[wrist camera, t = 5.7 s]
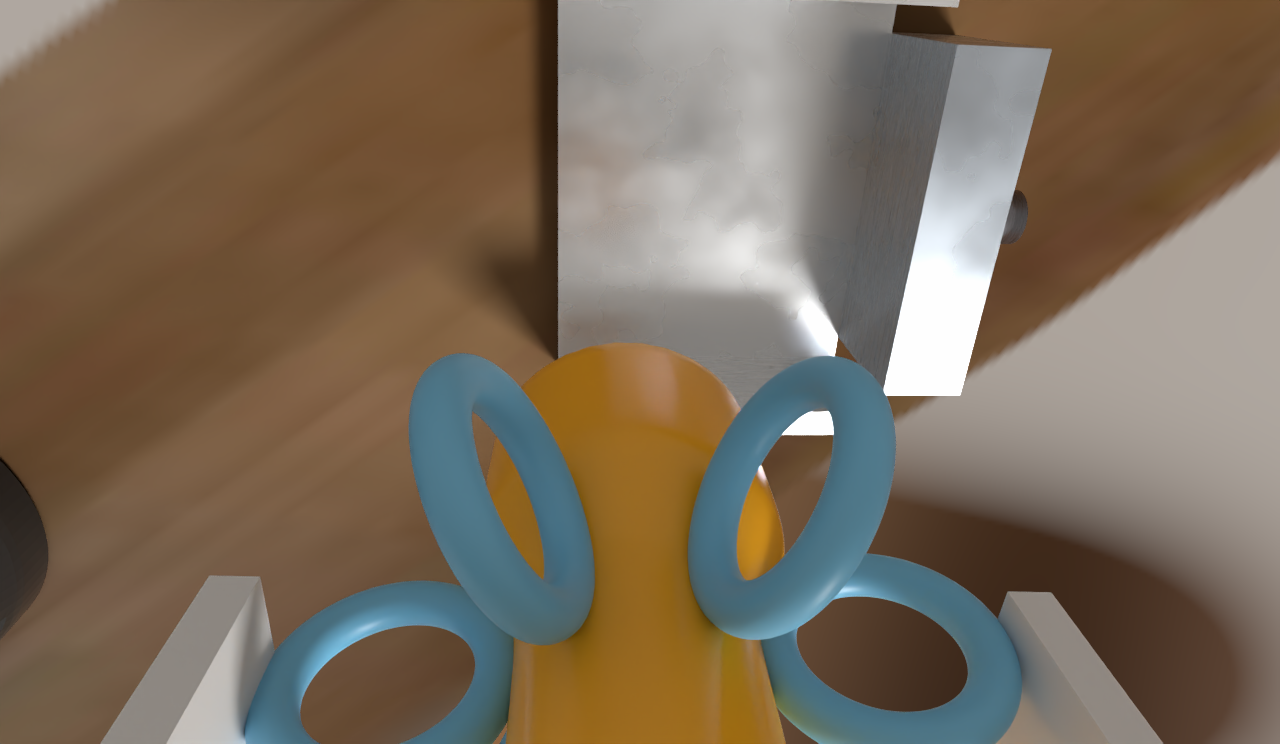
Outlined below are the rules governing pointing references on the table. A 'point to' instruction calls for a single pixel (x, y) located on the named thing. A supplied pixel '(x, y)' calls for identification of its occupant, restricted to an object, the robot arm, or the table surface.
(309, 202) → the table surface
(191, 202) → the table surface
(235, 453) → the table surface
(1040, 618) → the robot arm
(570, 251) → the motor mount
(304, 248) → the table surface
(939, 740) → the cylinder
